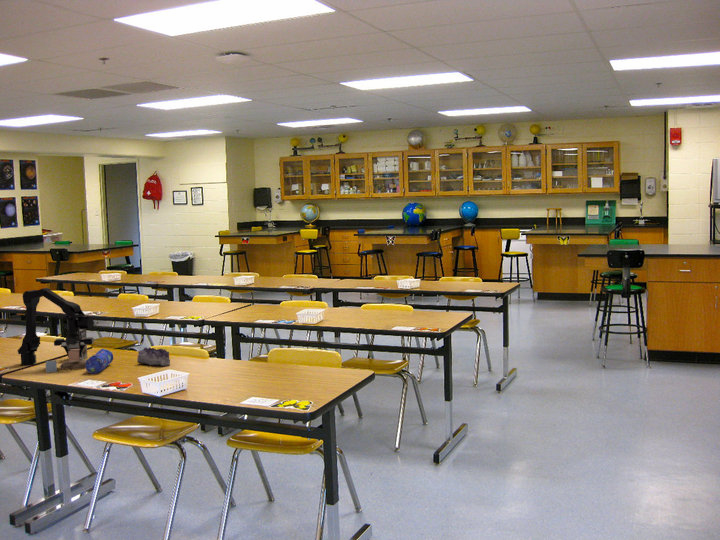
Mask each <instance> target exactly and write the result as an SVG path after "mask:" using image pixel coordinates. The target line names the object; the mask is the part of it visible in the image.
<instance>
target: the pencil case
mask: <svg viewBox="0 0 720 540" xmlns="http://www.w3.org/2000/svg"><path fill="white" fill-rule="evenodd" d="M86 360H87V361H86V364H85V367H86V368H85V369H86V372H88V373H90V374H91V375H94V374H95V375H96V374H99V373H100V372H102V371H103V370H105V369H106V368H107V367H108V366H109V365H110V364H111V363H112V362H113V360H114V354H113V352H112V351H110V350H109V349H107V348H101V349H99V350H98V351H97V352H96V353H95V354H93V355H92V356H90V357H89V358H88V359H86Z"/></svg>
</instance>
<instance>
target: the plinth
mask: <svg viewBox="0 0 720 540" xmlns="http://www.w3.org/2000/svg"><path fill="white" fill-rule="evenodd" d="M87 360H88V359H83V360H77V361H69V360H65V361H63V363H61V365H60V366H59V367H60V368H59V369H60V370H76V369H78V370H79V369H86V367H85V364H86V361H87Z"/></svg>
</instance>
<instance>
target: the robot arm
mask: <svg viewBox="0 0 720 540" xmlns="http://www.w3.org/2000/svg"><path fill="white" fill-rule="evenodd" d="M43 297H44V298H45V299H47V300H48V301H50V302H51V303H53V304H54V305H56V306H58V307H59V308H60V309H61V312H63V313H64V314H65V317H64V318H63V321H67V322H66V323H67V334H66V337H65V338H63V337H62V338H56V339H54V341H53V347H54V346H55V347H57V346H60V348H63V349H64V351H65V352H66V355H67V357H68V358H69V356H68V351H69V350H70V349H69V345H72V344H73V345H75V344H76V343H81V345H80V353H79V356H80V358H81V355H82V352H83V349H84V347H85V346H86V345H87V346H88V345H93V344H94V343H95V339H94V338H93V337H89V336H88V337H87V338H85V339H81V337H80V329H86V330H92V329H93V328H94V325H95V321H94V318H92V316H91V315H86V314H85V313H84V312H83V310H82V309H81V306H80V304H79V303H76V302H73V301H69V300H67V299H65V298H63V296H61V295H59V294H57V293H56V292H54V291H52V290H51V288H50V287H49V288H48V287H43V288H40V289H38V290H37V289H33V290H32V289H31V290H26V291H24V292H23V293H22V301H23V304H24V306H25V334H24V336H23V338H22V341H21V346H20V347H19V348H18V349H17V351H16V352H17V354H18V355H20V366H33V365H35V364H36V363H37V354H35V353H36V352H37V351H38V349H39V347H40V345H41V336H38V334H37V308H38V304H39V303H40V301H41V298H43Z"/></svg>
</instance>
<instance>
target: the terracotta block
mask: <svg viewBox="0 0 720 540" xmlns="http://www.w3.org/2000/svg"><path fill="white" fill-rule="evenodd" d="M79 353H80V349H71V350H69V351H68V355H67V357H68V356H69V357H68V361H77V360H80V359H81V358H80V356H79Z"/></svg>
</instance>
